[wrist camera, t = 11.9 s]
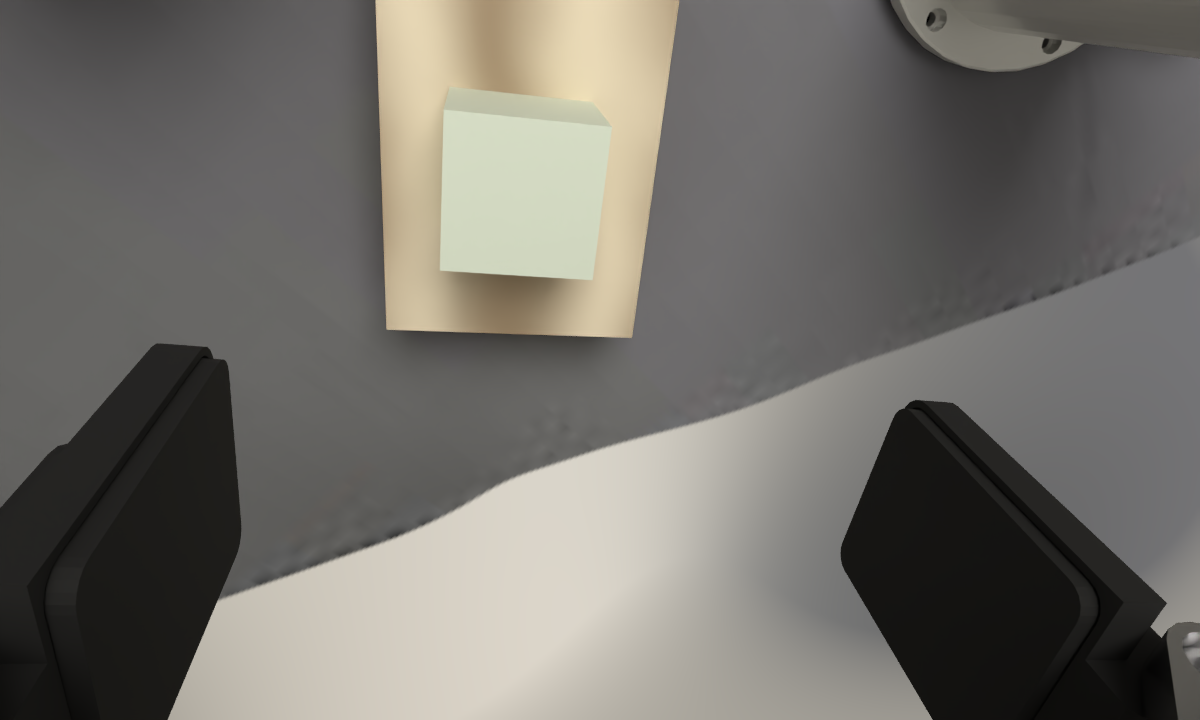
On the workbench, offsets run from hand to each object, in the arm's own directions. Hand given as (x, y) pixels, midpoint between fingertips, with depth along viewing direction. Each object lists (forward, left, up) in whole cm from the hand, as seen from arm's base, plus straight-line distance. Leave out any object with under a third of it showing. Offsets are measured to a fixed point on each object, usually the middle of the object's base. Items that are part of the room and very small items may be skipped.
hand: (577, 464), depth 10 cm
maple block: (0, 0, -24) cm, 24 cm away
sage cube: (0, 0, -19) cm, 19 cm away
